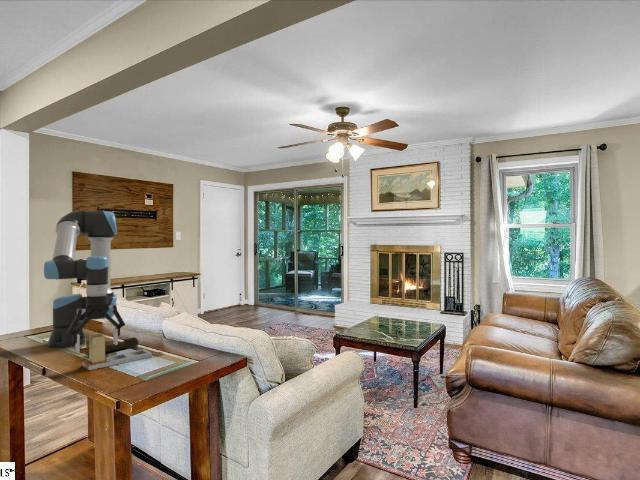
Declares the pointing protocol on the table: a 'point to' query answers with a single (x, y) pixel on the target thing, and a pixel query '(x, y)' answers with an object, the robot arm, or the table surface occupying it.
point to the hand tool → (122, 345)
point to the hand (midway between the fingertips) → (97, 347)
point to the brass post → (96, 349)
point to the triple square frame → (118, 359)
